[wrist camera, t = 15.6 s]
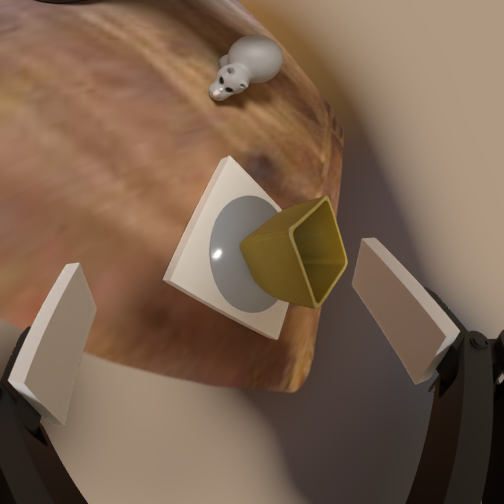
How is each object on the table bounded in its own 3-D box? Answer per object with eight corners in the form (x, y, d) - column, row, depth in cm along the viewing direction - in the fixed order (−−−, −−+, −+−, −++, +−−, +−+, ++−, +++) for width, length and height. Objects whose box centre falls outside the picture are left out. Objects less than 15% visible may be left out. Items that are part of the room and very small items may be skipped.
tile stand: (221, 159, 33) (231, 154, 32) (299, 238, 44) (309, 237, 43) (162, 280, 27) (171, 280, 25) (269, 338, 38) (279, 340, 36)
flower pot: (250, 305, 33) (318, 311, 27) (218, 238, 30) (289, 230, 24) (287, 265, 38) (349, 263, 32) (264, 206, 36) (328, 193, 29)
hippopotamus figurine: (180, 84, 32) (206, 64, 25) (236, 39, 33) (270, 18, 26) (215, 120, 36) (248, 110, 29) (265, 72, 37) (302, 59, 31)
